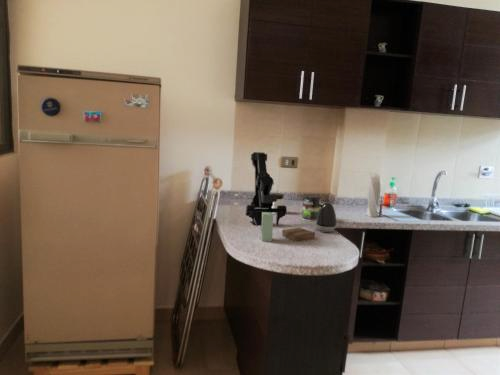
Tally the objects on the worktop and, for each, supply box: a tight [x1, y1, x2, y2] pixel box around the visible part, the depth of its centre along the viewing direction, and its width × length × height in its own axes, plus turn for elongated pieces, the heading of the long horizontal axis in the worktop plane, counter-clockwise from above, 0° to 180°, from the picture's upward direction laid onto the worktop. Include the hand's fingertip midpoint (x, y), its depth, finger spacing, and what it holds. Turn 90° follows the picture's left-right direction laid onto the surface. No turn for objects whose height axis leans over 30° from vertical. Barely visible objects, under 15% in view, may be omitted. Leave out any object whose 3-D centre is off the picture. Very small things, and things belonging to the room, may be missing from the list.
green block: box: [260, 212, 274, 242], centre depth 177 cm, size 4×4×12 cm
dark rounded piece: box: [315, 201, 337, 233], centre depth 198 cm, size 10×10×15 cm
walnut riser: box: [281, 227, 316, 242], centre depth 185 cm, size 11×11×4 cm
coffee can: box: [301, 194, 322, 222], centre depth 226 cm, size 10×10×14 cm
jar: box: [270, 192, 285, 215], centre depth 241 cm, size 9×8×12 cm
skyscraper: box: [365, 172, 383, 219], centre depth 242 cm, size 8×8×28 cm
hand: (267, 226), depth 176 cm, fingers open, 9 cm apart
